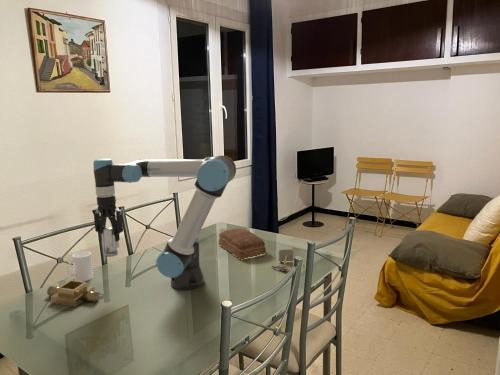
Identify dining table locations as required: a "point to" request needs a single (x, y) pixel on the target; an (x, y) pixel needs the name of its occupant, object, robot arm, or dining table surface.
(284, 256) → the decorative sculpture
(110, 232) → the pipe stub
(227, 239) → the bread
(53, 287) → the valve body
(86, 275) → the mug
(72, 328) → the dining table surface
